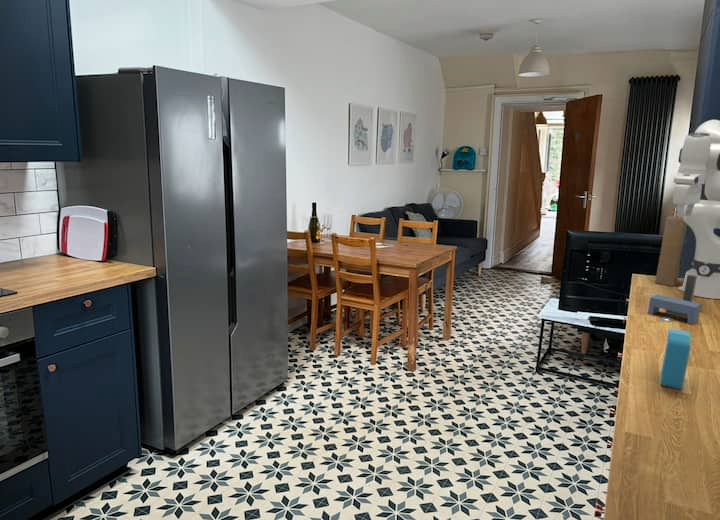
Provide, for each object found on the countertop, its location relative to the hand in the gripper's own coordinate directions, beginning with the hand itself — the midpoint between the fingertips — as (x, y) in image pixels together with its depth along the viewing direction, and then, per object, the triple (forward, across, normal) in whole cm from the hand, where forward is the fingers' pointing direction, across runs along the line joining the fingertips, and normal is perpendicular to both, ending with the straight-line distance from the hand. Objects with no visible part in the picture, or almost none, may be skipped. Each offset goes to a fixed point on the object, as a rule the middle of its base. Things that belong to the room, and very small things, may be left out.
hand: (683, 216), depth 193 cm
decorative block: (+34, -42, -13) cm, 56 cm away
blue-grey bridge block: (+34, +16, +6) cm, 38 cm away
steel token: (+34, +23, +6) cm, 42 cm away
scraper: (+34, +6, +7) cm, 35 cm away
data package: (+34, +78, +24) cm, 89 cm away
